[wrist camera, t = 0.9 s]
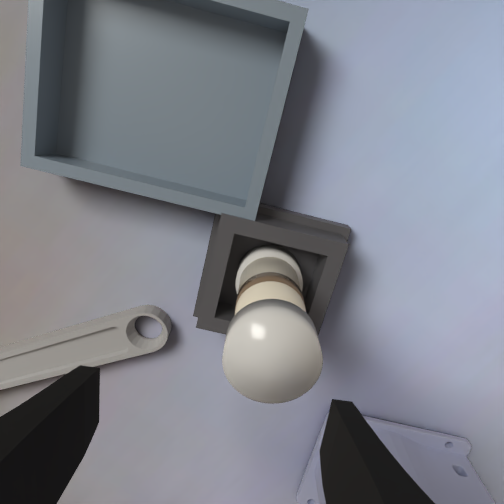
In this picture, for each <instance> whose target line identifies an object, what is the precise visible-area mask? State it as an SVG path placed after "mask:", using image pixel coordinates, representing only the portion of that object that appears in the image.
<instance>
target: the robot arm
mask: <svg viewBox="0 0 504 504" xmlns="http://www.w3.org/2000/svg"><path fill="white" fill-rule="evenodd" d="M99 386H100V368H96V367H89V366H82V365H80V366H78V367H76V368H75V369H73V370H72V371H70V372H69V373H67V374H66V375H64V376H63V377H61V378H60V379H59V380H57V381H56V382H54V383H53V384H51V385H50V386H48V387H47V388H45V389H44V390H42V391H41V392H39V393H38V394H36V395H35V396H33V397H32V398H30V399H29V400H27V401H25V402H24V403H22V404H21V405H19V406H18V407H16V408H14V409H13V410H11V411H9V412H8V413H6V414H4V415H3V416H1V417H0V504H57V502H58V500H59V498H60V497H61V495H62V493H63V492H64V490H65V488H66V486H67V485H68V483H69V481H70V480H71V478H72V476H73V474H74V473H75V471H76V469H77V467H78V466H79V464H80V462H81V460H82V459H83V457H84V455H85V453H86V451H87V448H88V446H89V444H90V442H91V440H92V437H93V435H94V433H95V430H96V428H97V425H98V423H99ZM447 442H449V443H447ZM470 450H471V444H470V443H469V441H468V440H467V439H465V438H462V437H457V436H453V435H448V434H444V433H439V432H435V431H430V430H426V429H421V428H417V427H412V426H408V425H403V424H399V423H394V422H390V421H385V420H380V419H376V418H371V417H367V416H362V415H361V413H360V412H359V411H358V409H357V408H356V407H355V405H354V404H353V403H352V402H349V401H342V400H334V399H332V402H331V407H330V411H329V412H328V413H327V415H326V418H325V420H324V423H323V426H322V428H321V431H320V433H319V436H318V439H317V441H316V444H315V447H314V449H313V452H312V455H311V457H310V460H309V462H308V465H307V468H306V470H305V473H304V476H303V478H302V481H301V483H300V486H299V489H298V491H297V494H296V499H297V502H298V503H299V504H496V503H495V501H494V500H493V498H492V497H491V495H490V493H489V492H488V490H487V489H486V487H485V485H484V484H483V482H482V480H481V479H480V477H479V476H478V474H477V472H476V471H475V469H474V468H473V466H472V464H471V463H470V461H469V460H468V458H467V455H468V454H469V452H470Z"/></svg>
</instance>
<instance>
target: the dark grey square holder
mask: <svg viewBox="0 0 504 504" xmlns="http://www.w3.org/2000/svg"><path fill="white" fill-rule="evenodd" d="M350 231H351V228H350V227H349V226H348V225H345V224H341V223H337V222H333V221H329V220H325V219H321V218H317V217H313V216H309V215H305V214H301V213H297V212H293V211H289V210H285V209H281V208H277V207H272V206H268V205H264V204H260V203H259V207H258V211H257V215H256V218H255V221H253V220H249V219H245V218H241V217H236V216H232V215H228V214H224V213H221V215H220V214H215V218H214V222H213V227H212V231H211V236H210V241H209V245H208V250H207V254H206V259H205V264H204V268H203V273H202V277H201V282H200V287H199V291H198V296H197V300H196V305H195V310H194V314H193V316H195V317H198V321H197V326H196V328H200V329H204V330H209V331H213V332H217V333H222V334H227V329H228V326H229V324H230V322H231V320H232V318H233V317H234V316H235V306H236V300H237V295H238V294H237V291H236V276H237V271H238V266H239V263H240V261H241V259H242V258H243V256H244V255H245V254H246V253H247V252H248V251H250V250H251V249H253V248H255V247H257V246H261V245H268V244H269V245H277V246H280V247H283V248H285V249H286V250H288V251H289V252H290V253H292V255H293V256H294V257H295V258H296V260H297V262H298V264H299V267H300V271H301V275H302V280H303V288H302V295H303V299H304V303H305V308H306V313H307V314H308V315H309V317H310V318H311V319H312V321H313V323H314V326H315V328H316V332H317V336H318V334H319V331H320V328H321V325H322V322H323V319H324V316H325V313H326V310H327V308H328V305H329V302H330V299H331V296H332V293H333V290H334V287H335V284H336V281H337V278H338V275H339V272H340V270H341V267H342V264H343V261H344V258H345V255H346V252H347V249H348V246H349V244H348V242H347V240H348V237H349V234H350Z"/></svg>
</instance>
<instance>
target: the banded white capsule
mask: <svg viewBox="0 0 504 504" xmlns="http://www.w3.org/2000/svg"><path fill="white" fill-rule="evenodd" d="M302 288H303V280H302V275H301V271H300V267H299V264H298V262H297V260H296V258H295V257H294V256H293V255H292V253H290V252H289V251H288V250H286V249H285V248H283V247H280V246H277V245H269V244H268V245H261V246H257V247H255V248H253V249H251V250H250V251H248V252H247V253H246V254H245V255H244V256H243V258H242V259H241V261H240V263H239V266H238V271H237V276H236V291H237V294H238V295H237V300H236V306H235V316H234V317H233V318H232V320H231V322H230V324H229V326H228V329H227V334H226V340H225V345H224V351H223V357H222V363H223V369H224V373H225V375H226V377H227V379H228V381H229V383H230V384H231V385H232V386H233V387H234V388H235V389H236V390H237V391H238V392H239V393H241V394H242V395H243V396H245V397H247V398H249V399H252V400H254V401H258V402H262V403H272V404H273V403H283V402H287V401H291V400H294V399H296V398H298V397H300V396H302V395H303V394H305V393H306V392H307V391H308V390H310V389H311V388H312V387H313V385H314V384H315V383H316V381H317V380H318V378H319V376H320V373H321V370H322V364H323V356H322V351H321V347H320V343H319V339H318V336H317V332H316V328H315V326H314V323H313V321H312V319H311V318H310V317H309V315H308V314H307V313H306V308H305V303H304V299H303V295H302Z"/></svg>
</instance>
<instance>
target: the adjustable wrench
mask: <svg viewBox="0 0 504 504" xmlns="http://www.w3.org/2000/svg"><path fill="white" fill-rule="evenodd" d="M140 316H150V317H152V318H154V319H156V320H157V321H158V322H159V323H160V324H161V325H162V327H163V328H162V332H161V334H160V335H159V336H158V337H157V338H146V337H144V336H142V335H140V334H139V333H138V332H137V330H136V329H135V321H136V319H137V318H138V317H140ZM171 326H172V325H171V320H170V318H169V316H168V315H167V313H166V312H165V311H163V310H162V309H161V308H159V307H156V306H153V305H142V306H138V307H135V308H132V309H128V310H125V311H121V312H118V313H115V314H111V315H108V316H104V317H101V318H97V319H94V320H91V321H87V322H84V323H80V324H77V325H74V326H70V327H67V328H63V329H60V330H56V331H53V332H50V333H46V334H43V335H39V336H36V337H33V338H29V339H26V340H22V341H19V342H15V343H12V344H9V345H5V346H2V347H0V390H2V389H6V388H10V387H14V386H18V385H22V384H26V383H30V382H34V381H38V380H42V379H46V378H50V377H54V376H58V375H62V374H66V373H69V372H70V371H72V370H73V369H75V368H76V367H78V366H80V365H82V366H89V367H95V366H99V365H103V364H107V363H111V362H115V361H119V360H123V359H127V358H131V357H135V356H139V355H143V354H147V353H151V352H155V351H157V350H159V349H160V348H162V347H163V346H164V345H165V343H166V341H167V339H168V336H169V334H170V332H171Z"/></svg>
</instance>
